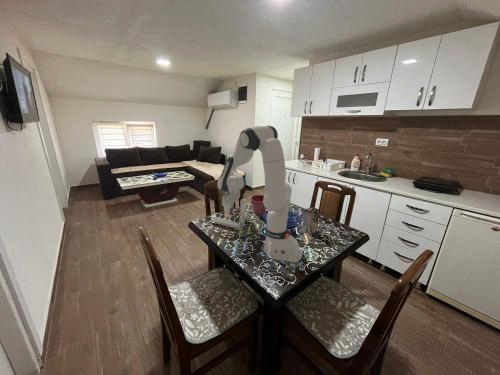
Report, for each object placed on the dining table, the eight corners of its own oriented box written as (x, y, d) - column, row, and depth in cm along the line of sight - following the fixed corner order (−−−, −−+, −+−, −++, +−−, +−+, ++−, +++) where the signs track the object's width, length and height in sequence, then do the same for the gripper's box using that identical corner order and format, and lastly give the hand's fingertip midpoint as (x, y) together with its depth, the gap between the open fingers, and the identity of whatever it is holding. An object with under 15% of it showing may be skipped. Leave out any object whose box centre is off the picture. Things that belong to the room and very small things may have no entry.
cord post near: (247, 219, 159) (247, 199, 154) (244, 221, 155) (244, 201, 150) (242, 217, 160) (241, 198, 155) (239, 220, 157) (239, 200, 152)
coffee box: (309, 227, 148) (311, 206, 143) (317, 230, 143) (319, 209, 138) (301, 231, 142) (303, 209, 137) (309, 235, 137) (312, 213, 132)
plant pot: (256, 217, 161) (256, 202, 157) (247, 211, 172) (247, 196, 168) (271, 214, 167) (272, 199, 163) (262, 207, 179) (262, 193, 175)
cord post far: (231, 215, 164) (230, 196, 159) (228, 217, 161) (227, 198, 155) (226, 214, 166) (225, 195, 161) (223, 216, 162) (222, 197, 157)
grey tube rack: (245, 225, 149) (245, 217, 147) (240, 230, 143) (240, 221, 140) (216, 218, 160) (215, 210, 157) (210, 222, 153) (209, 214, 151)
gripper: (227, 195, 139) (228, 214, 143) (241, 186, 156) (241, 203, 161) (219, 193, 141) (220, 212, 146) (234, 185, 159) (234, 202, 163)
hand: (231, 207), depth 153 cm, fingers closed
